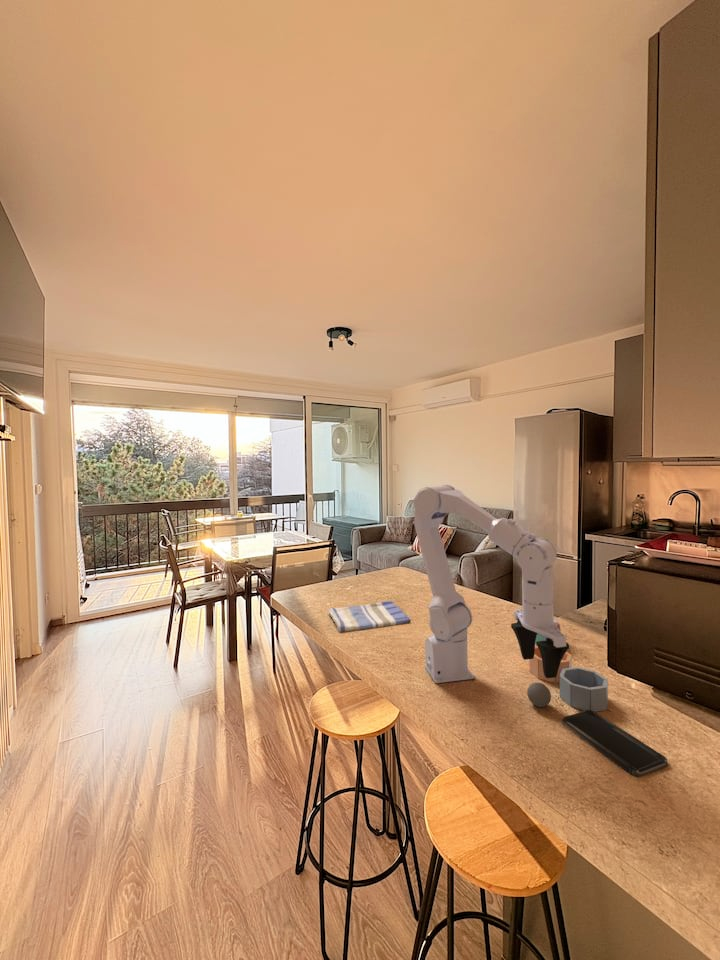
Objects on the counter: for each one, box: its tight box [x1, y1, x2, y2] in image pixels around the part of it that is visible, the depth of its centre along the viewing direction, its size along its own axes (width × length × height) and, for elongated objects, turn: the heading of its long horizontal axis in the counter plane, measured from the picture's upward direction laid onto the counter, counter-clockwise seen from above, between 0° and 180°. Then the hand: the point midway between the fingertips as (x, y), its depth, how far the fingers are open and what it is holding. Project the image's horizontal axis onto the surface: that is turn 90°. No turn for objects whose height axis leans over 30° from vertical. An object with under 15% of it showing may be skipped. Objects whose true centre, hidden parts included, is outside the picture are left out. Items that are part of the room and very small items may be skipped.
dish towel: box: [327, 600, 412, 633], centre depth 133 cm, size 17×24×3 cm
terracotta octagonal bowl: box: [529, 645, 573, 684], centre depth 95 cm, size 8×8×4 cm
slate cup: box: [559, 666, 609, 713], centre depth 85 cm, size 8×8×4 cm
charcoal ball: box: [527, 682, 552, 708], centre depth 83 cm, size 4×4×4 cm
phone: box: [561, 710, 668, 778], centre depth 72 cm, size 8×1×15 cm
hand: (538, 667), depth 83 cm, fingers open, 7 cm apart
